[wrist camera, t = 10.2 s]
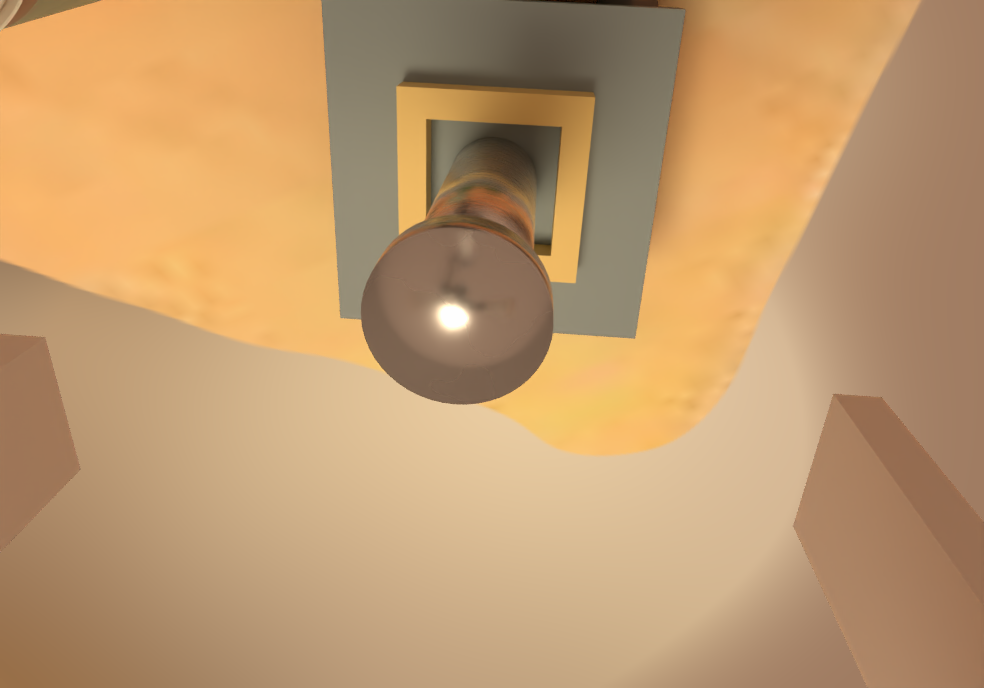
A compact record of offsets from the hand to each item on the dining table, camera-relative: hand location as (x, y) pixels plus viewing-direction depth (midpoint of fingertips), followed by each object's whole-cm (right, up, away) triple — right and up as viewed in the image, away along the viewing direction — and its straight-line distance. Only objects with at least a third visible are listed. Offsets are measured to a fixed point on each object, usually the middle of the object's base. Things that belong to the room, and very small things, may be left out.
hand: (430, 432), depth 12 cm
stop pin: (+1, +8, +14) cm, 16 cm away
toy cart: (+2, +11, +21) cm, 23 cm away
